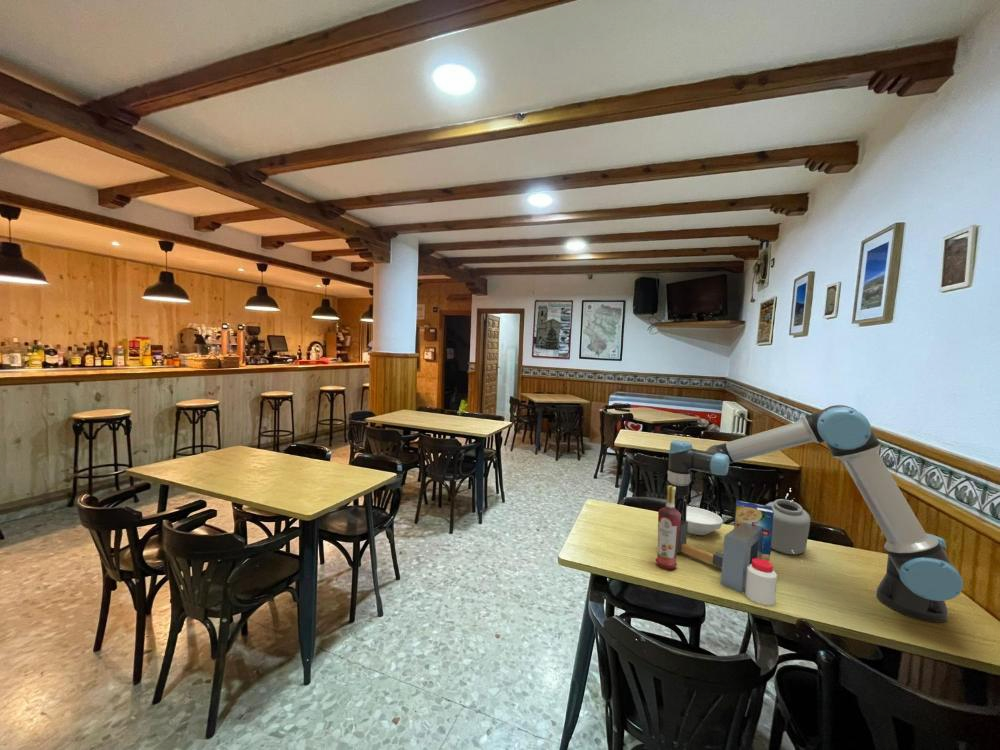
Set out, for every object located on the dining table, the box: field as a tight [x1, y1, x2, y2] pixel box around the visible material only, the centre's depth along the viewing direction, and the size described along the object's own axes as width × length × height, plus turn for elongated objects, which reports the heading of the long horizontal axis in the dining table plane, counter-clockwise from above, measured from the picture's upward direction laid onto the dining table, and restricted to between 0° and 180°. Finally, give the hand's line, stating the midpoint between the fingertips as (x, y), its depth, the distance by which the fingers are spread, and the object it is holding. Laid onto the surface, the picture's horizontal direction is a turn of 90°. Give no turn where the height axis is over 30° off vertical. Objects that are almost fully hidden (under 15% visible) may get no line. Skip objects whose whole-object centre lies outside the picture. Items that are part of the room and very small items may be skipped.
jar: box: [765, 487, 811, 562], centre depth 156 cm, size 19×15×25 cm
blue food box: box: [733, 499, 774, 563], centre depth 142 cm, size 7×11×22 cm, turn 61°
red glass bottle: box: [655, 485, 681, 570], centre depth 139 cm, size 7×7×28 cm
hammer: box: [677, 520, 723, 569], centre depth 145 cm, size 20×6×10 cm, turn 42°
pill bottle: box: [744, 558, 778, 607], centre depth 123 cm, size 8×8×11 cm
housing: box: [720, 523, 764, 594], centre depth 134 cm, size 6×20×16 cm, turn 132°
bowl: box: [686, 505, 723, 536], centre depth 170 cm, size 20×20×7 cm
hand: (673, 543), depth 151 cm, fingers closed on hammer, 6 cm apart
